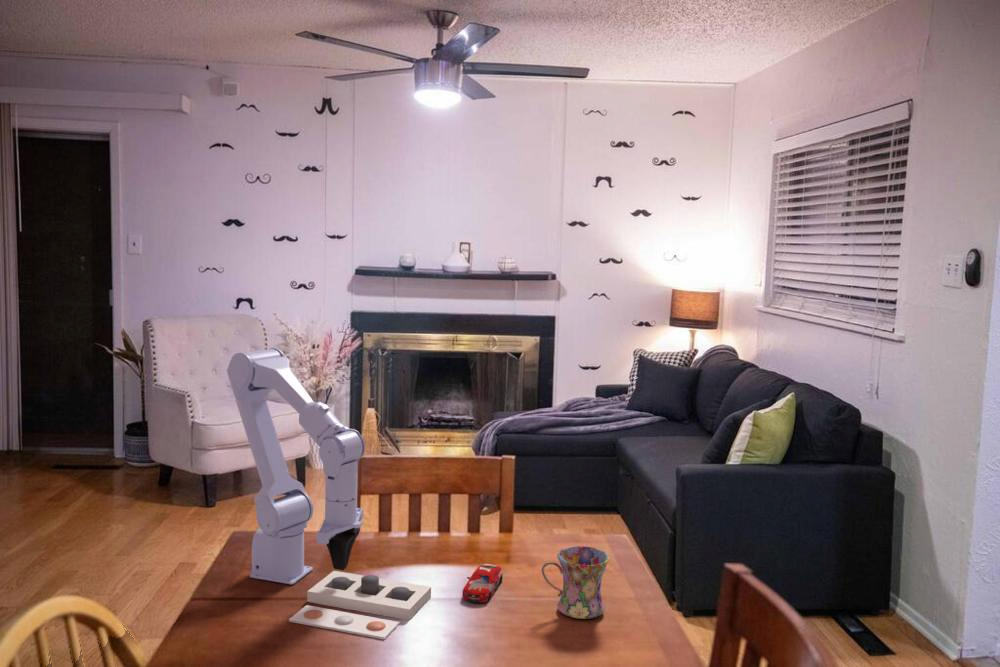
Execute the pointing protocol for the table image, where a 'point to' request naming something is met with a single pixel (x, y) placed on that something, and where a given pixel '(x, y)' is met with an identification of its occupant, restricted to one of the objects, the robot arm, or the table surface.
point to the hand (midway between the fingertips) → (340, 568)
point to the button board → (369, 596)
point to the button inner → (340, 583)
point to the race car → (483, 583)
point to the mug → (580, 581)
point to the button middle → (370, 584)
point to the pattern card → (345, 622)
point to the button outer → (400, 593)
